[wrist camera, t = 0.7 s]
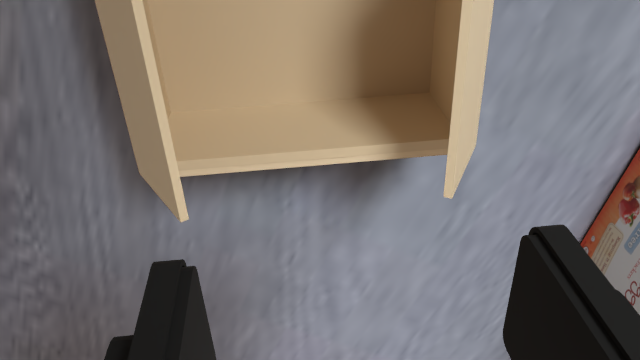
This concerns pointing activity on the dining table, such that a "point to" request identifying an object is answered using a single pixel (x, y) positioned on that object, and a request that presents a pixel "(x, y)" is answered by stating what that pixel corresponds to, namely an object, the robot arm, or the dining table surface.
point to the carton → (304, 80)
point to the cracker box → (619, 236)
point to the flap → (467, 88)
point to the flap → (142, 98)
